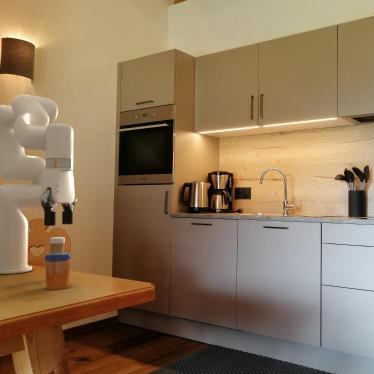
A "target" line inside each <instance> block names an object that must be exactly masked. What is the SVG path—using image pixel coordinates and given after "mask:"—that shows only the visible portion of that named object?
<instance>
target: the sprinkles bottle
mask: <svg viewBox="0 0 374 374" xmlns="http://www.w3.org/2000/svg"><path fill="white" fill-rule="evenodd" d="M65 244H66V237H64V236H53V237H50V238H49V245H50V246H49V253H56V252H65Z"/></svg>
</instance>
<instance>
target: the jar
mask: <svg viewBox="0 0 374 374" xmlns="http://www.w3.org/2000/svg"><path fill="white" fill-rule="evenodd" d="M70 260H71V259H69V260H63V261H46V260H45V289H46V290H50V291H51V290H52V291H53V290H54V291H55V290H57V291H58V290H64V289H65V290H66V289H68V288H70V278H71V277H70V275H71V272H70V271H71V270H70V269H71V261H70Z"/></svg>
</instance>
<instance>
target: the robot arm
mask: <svg viewBox="0 0 374 374" xmlns="http://www.w3.org/2000/svg"><path fill="white" fill-rule="evenodd" d="M58 114H59V107H58V105H57V103H56V101H54V100H53V99H51V98H49V97H44V96H37V95H32V94H18V95H16V96H15V97H14V98H13V99H12V100H11V103H10V104H0V177H1V178H2V179H3V180H5V181H13V182H31V183H4V184H2V185H0V275H10V274H13V275H14V274H22V273H27V272H30V271H32V270H33V266H32V265H28V261H29V260H28V259H29V256H28V255H29V221H28V218H27V217H26V216H25V214H24V213H23V212H22V211H25V210H26V211H33V210H34V211H35V210H37V211H38V210H42V211H43V212H44V213H43V215H44V216H43V223H44V224H43V225H44V226H45V227H54V226H56V224H57V223H56V221H57V211H55V210H56V207H57V204H59V205H60V204H61V207H62V210H61V224H62V225H73V224H74V210H75V207H76V202H77V200H78V199H77V196H76V195H75V179H74V173H73V172H74V141H75V140H74V139H75V137H74V136H75V131H74V127H73V126H72V125H70V124H67V123H58V122H57V123H56V122H55V121H56V120H57V118H58V116H59V115H58ZM25 150H29V151H41V152H42V151H43V152H45V159H44V158H42V157H40V156H34V155H33V156H31V155H26V152H25Z"/></svg>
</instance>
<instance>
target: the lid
mask: <svg viewBox="0 0 374 374" xmlns="http://www.w3.org/2000/svg"><path fill="white" fill-rule="evenodd" d="M44 254H45V255H44V260H45V262H46V261H63V260H69V259H70V260H71V259H72V255H71V254H72V253H71V252H67V251H64V252H56V253H50V252H48V253H44Z"/></svg>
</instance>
